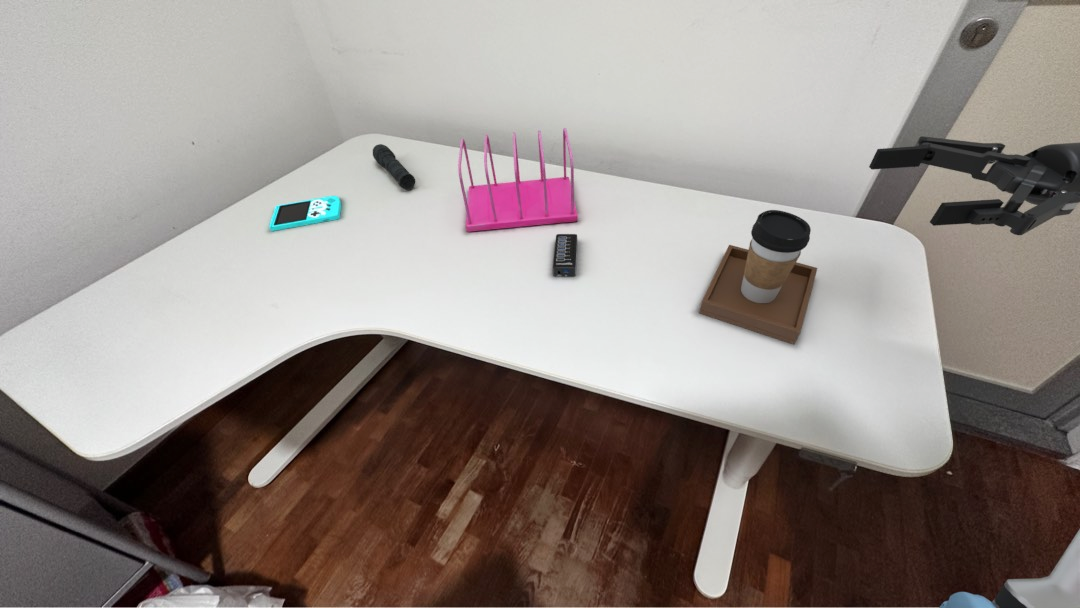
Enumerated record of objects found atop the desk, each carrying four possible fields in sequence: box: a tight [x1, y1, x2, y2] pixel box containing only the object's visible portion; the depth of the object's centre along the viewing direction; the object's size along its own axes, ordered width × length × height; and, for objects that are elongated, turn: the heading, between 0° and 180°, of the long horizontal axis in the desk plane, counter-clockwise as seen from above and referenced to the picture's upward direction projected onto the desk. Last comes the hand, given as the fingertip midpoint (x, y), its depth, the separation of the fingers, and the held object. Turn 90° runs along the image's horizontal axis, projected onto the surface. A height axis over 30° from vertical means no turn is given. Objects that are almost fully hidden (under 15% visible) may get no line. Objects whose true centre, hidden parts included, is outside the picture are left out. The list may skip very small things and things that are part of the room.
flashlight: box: [372, 143, 417, 191], centre depth 121 cm, size 5×21×5 cm, turn 33°
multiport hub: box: [552, 233, 578, 278], centre depth 93 cm, size 4×11×2 cm, turn 175°
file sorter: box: [457, 127, 579, 233], centre depth 103 cm, size 17×25×16 cm
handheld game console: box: [268, 195, 342, 232], centre depth 111 cm, size 10×16×1 cm, turn 103°
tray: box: [698, 244, 818, 345], centre depth 81 cm, size 18×16×3 cm
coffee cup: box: [741, 209, 812, 303], centre depth 76 cm, size 8×8×15 cm
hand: (903, 184), depth 59 cm, fingers open, 13 cm apart
